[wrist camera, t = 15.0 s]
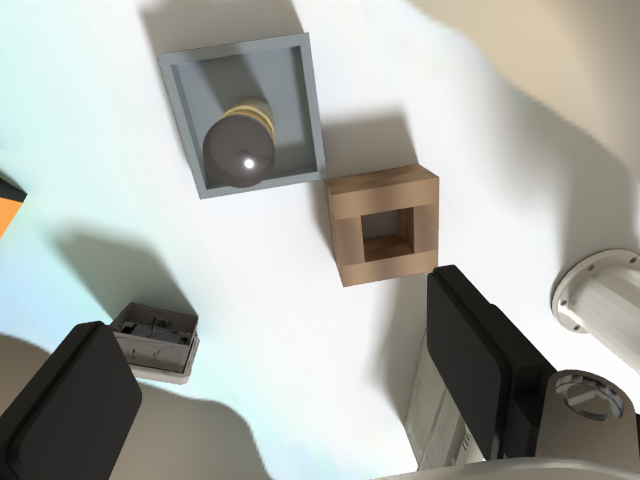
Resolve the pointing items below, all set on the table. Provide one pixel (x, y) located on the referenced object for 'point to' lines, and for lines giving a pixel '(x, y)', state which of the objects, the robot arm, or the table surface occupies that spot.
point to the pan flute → (9, 203)
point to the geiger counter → (436, 421)
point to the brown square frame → (392, 250)
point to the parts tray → (242, 81)
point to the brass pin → (241, 144)
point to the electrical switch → (157, 343)
